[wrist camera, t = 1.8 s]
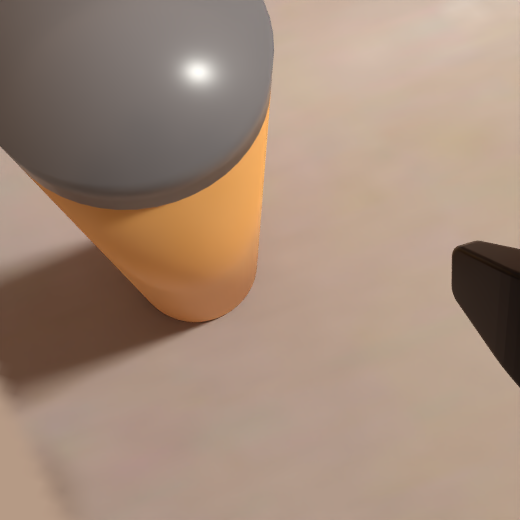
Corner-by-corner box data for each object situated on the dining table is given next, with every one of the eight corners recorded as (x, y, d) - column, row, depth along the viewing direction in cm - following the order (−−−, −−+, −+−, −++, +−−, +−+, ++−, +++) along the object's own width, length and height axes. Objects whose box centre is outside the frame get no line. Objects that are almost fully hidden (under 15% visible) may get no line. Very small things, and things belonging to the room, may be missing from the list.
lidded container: (235, 337, 20) (218, 224, 7) (118, 301, 20) (-97, 131, 7) (271, 225, 21) (309, -34, 8) (161, 193, 21) (40, -104, 9)
